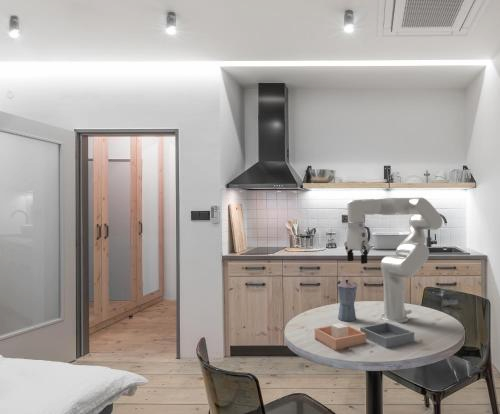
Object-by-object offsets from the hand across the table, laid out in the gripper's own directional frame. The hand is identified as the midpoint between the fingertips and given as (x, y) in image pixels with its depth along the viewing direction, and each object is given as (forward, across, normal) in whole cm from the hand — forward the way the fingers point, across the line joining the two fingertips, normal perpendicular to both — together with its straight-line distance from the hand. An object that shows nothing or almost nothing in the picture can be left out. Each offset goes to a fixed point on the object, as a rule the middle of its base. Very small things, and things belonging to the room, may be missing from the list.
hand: (357, 262), depth 174 cm
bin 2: (+30, -20, +2) cm, 36 cm away
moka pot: (+31, +12, -2) cm, 33 cm away
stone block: (+30, -12, +20) cm, 38 cm away
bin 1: (+30, -12, +20) cm, 38 cm away
